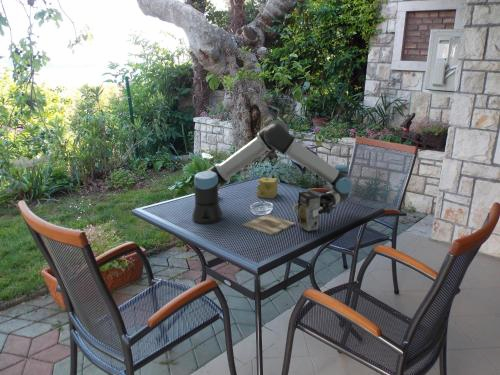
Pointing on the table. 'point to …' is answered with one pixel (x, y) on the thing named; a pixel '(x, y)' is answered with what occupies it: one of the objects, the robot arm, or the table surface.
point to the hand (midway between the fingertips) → (303, 210)
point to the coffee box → (308, 210)
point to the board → (269, 224)
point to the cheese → (267, 187)
